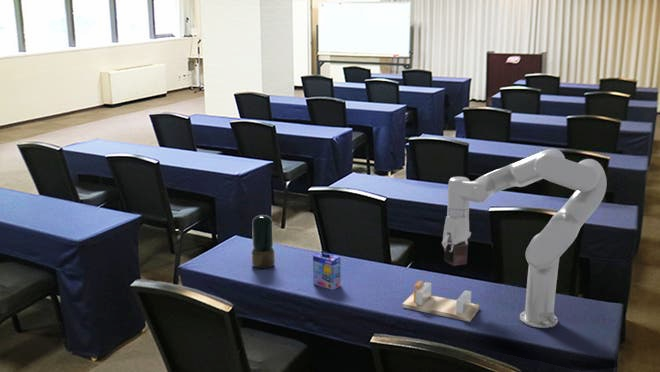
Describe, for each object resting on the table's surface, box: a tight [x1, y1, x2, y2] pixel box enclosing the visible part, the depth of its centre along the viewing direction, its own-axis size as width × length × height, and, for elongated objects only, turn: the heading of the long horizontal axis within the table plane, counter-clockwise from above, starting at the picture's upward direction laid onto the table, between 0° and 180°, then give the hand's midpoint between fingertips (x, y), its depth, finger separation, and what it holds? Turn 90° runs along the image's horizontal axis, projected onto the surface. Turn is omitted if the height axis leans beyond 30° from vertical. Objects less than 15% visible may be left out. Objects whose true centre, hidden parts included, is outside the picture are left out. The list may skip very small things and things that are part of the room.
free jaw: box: [413, 280, 432, 306], centre depth 246 cm, size 4×10×6 cm, turn 153°
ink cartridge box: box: [312, 250, 342, 291], centre depth 262 cm, size 10×6×14 cm, turn 56°
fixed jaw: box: [456, 290, 472, 315], centre depth 239 cm, size 2×10×5 cm, turn 153°
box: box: [445, 241, 469, 267], centre depth 242 cm, size 6×6×7 cm
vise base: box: [401, 292, 480, 322], centre depth 243 cm, size 25×12×2 cm, turn 63°
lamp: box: [251, 214, 276, 269], centre depth 281 cm, size 10×10×22 cm
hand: (455, 258), depth 243 cm, fingers closed on box, 7 cm apart
